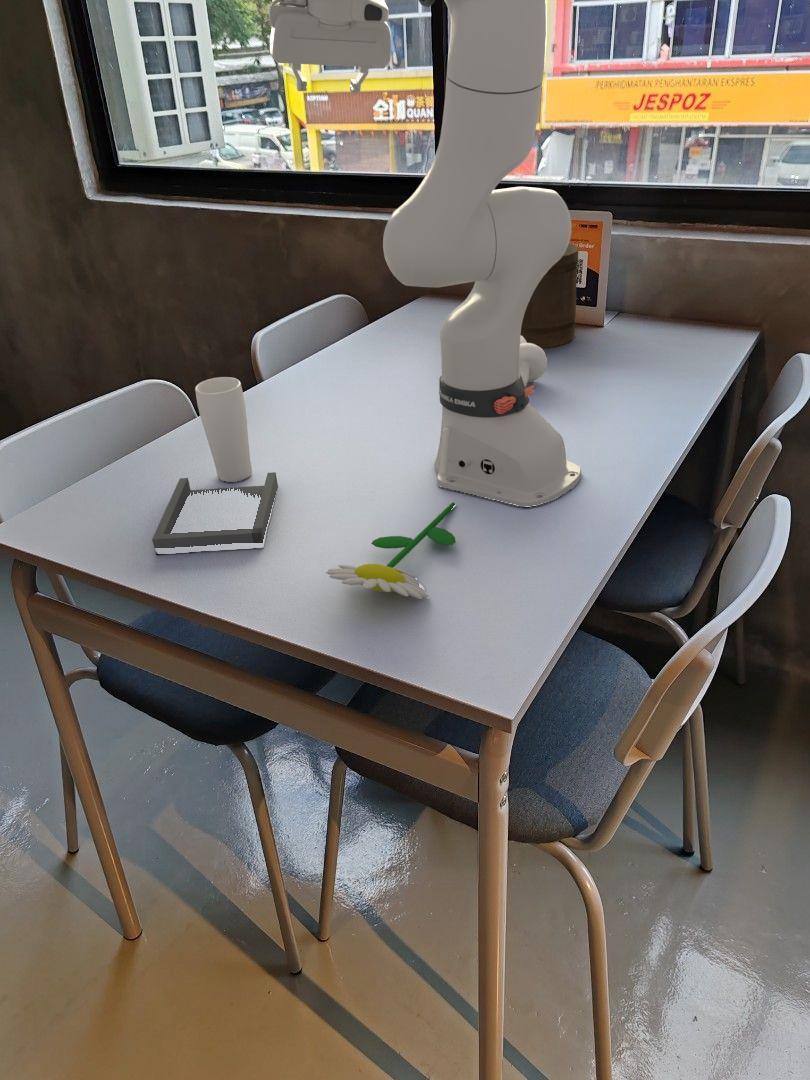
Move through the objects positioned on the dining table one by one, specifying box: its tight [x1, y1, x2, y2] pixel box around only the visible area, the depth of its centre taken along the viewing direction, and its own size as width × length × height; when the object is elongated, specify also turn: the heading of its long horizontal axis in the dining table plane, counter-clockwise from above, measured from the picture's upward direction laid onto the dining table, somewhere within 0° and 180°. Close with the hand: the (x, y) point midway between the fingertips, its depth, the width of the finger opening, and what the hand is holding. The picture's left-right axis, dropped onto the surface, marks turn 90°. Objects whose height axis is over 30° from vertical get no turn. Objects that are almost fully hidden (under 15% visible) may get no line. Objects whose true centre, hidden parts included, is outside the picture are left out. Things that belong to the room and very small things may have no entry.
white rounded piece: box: [519, 336, 548, 388], centre depth 150 cm, size 11×12×9 cm
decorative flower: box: [325, 502, 457, 600], centre depth 104 cm, size 13×5×30 cm
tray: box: [151, 471, 279, 548], centre depth 116 cm, size 17×14×2 cm
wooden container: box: [521, 242, 579, 349], centre depth 169 cm, size 15×15×22 cm
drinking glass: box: [194, 376, 253, 483], centre depth 124 cm, size 7×7×15 cm
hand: (328, 91), depth 143 cm, fingers open, 8 cm apart
